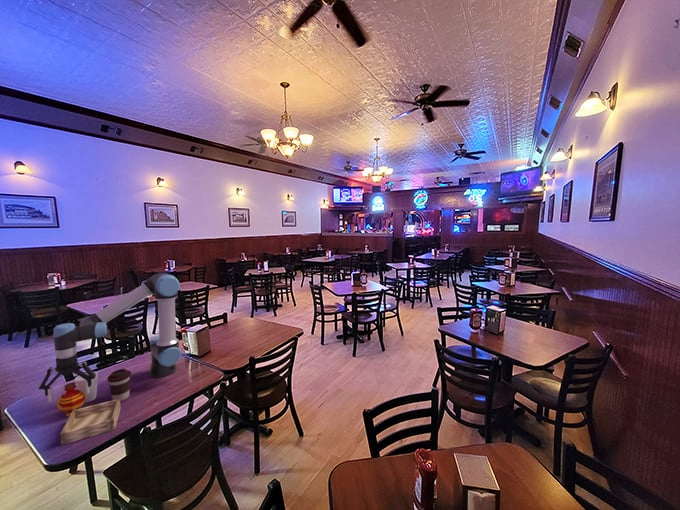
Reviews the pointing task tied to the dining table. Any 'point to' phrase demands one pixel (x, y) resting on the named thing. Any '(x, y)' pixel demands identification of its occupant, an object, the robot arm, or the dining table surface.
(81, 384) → the foam cup
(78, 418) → the tray
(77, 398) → the potion bottle
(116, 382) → the coffee cup
